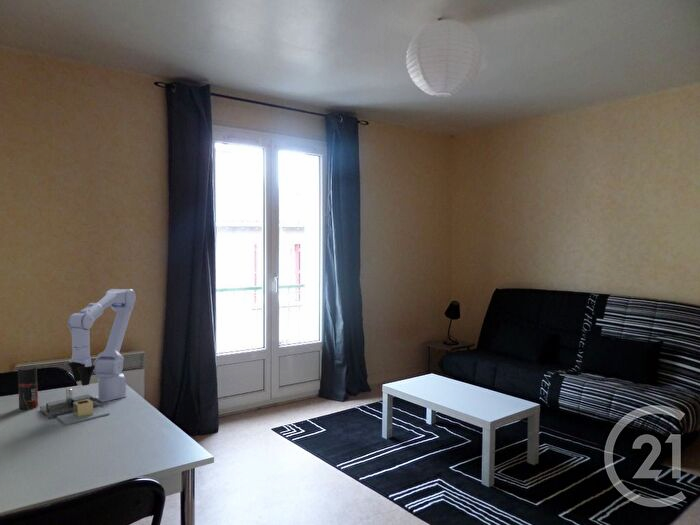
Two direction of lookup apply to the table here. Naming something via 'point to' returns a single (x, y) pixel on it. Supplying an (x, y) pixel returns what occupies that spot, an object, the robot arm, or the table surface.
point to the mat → (72, 419)
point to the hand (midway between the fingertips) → (81, 383)
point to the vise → (64, 405)
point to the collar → (83, 408)
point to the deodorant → (27, 387)
